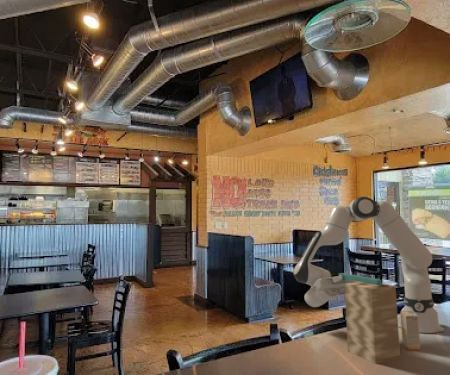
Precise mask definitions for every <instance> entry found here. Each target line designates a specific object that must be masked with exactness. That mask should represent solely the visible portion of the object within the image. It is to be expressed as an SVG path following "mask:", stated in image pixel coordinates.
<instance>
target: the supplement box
mask: <svg viewBox="0 0 450 375" xmlns="http://www.w3.org/2000/svg"><path fill="white" fill-rule="evenodd" d="M399 315H400V322H401V327H400V328H401V341H402V345H404V346H405V348H406V349H407V350H411V351H421V340H420V339H421V338H420V332H419V323H418V316H417V315H416V314H415V313H413V312H412V311H402V310H401V311H400V314H399Z"/></svg>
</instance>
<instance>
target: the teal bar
mask: <svg viewBox="0 0 450 375" xmlns="http://www.w3.org/2000/svg"><path fill="white" fill-rule="evenodd" d="M339 275H344V279H343V280H345V281H350V282H351V281H358V282H363V283H369V284H374V285H379V286H380V287H381V286H382V284H383V283H382V281H383V280H382V279H378V278H372V277H367V276H361V275H356V274H355V275H354V274H351V273H344V272H339V273H338V276H339Z"/></svg>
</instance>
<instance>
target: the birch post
mask: <svg viewBox="0 0 450 375" xmlns="http://www.w3.org/2000/svg"><path fill="white" fill-rule="evenodd" d="M396 288H397V287H396V285H392V284H391V285H390V284H387V283H382V286H381V287H380V286H379V285H374V284H369V283H363V282H358V281H351V283H345V295H344V297H345V298H344V299H345V316H346V317H345V318H346V320H345V321H346V336H347V337H346V338H347V351H348V352H350V353H351V354H353V355H356V356H358V357H361V358H363V359H365V360H367V361H369V362H372V363H373V364H379V363H385V362H388V361H392V360H398V359H401V353H400V352H401V351H400V338H399V337H400V336H399V335H400V334H399V327H398V324H399V323H398V322H399V321H398V304H397V290H396Z"/></svg>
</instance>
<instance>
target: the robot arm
mask: <svg viewBox="0 0 450 375" xmlns="http://www.w3.org/2000/svg"><path fill="white" fill-rule="evenodd" d="M368 219H370V220H373V221H374V222H375V223H376V224H377V226H378V227H379V229H380V230H381V232H382V233H383V234H384V236H385V237H386V238H387V240H388V241H389V242H390V244H392V245H393V248H395V249H396V251H397V252H398V253H399V255H400V265H401V269H402V276H403V281H404V282H403V283H404V285H403V286H404V297H403V298H404V299H403V301H404V307H403V308H402V309H401V311H412V312H413V313H415V314H416V315H417V316H418V323H419V333H422V334H432V333H433V334H435V333H440V332H445V328H444V327H442V326H441V325H440V322H439V315H438V314H439V313H438V311H436V309H435V308H434V298H433V296H432V285H431V279H430V276H429V272H428V267H430V266H431V265H432V262H433V255H432V253H431V251H430V250H429V249H428V247H427V246H426V245H425V244H424V243H423V242H422V241H421V239H420V238H419V237H418V236H417V235H416V233H415V232H414V231H412V229H411V228H410V226H409V225H408V224H407V222H406V221H405V220H404V218H403V217H402V216H401V215H400V214H399V211H397V210H396V209H395V207H394V206H393V205H391V204H390V203H389V202H388V201H386V200H378V201H376V200H374V199H372V198H370V197H368V196H359V197H357V198H355V199H353V200H352V201H351V202H350V203H348V205H346V206H344V205H335V206H333V207H332V209H331V210H330V213H329V214H328V216H327V218H326V221H325V222H324V223H325V224H324V226H323V228H322V229H321V230H320V231H316V232H315V233H314V234H313V235H312V238H311V239H310V241H309V242H308V245H307V246H306V248H305V250H304V251H303V253H302V255H301V257H300V259H299V260H298V262H297V263H296V265H295V266H294V268H293V272H292V273H293V276H294V278H295V280H296V281H297V282H299V283H301V284H306V285H309V286H311V287H310V288H309V290H308V291H307V292H306V293H304V301H305V303H306V304H307V305H308V306H310V307H312V308H317V307H320V306H323V305H324V304H326V303H327V302H328V301H330V300H332V299H334V298H336V297H338V296H341V295H344V294H345V283H351V282H350V281H345V280H343V279H344V275H339V274H338V275H337V276H333V275H332V273H331V272H330V270H328V269H324V268H323V267H320V266H317V265H314V264H312V263H311V262H312V260H313V259H314V257H315V254H316V252H317V251H318V250H319V248H320V247H322V246H337V245H339V244H342V242H344V241H345V239H346V237H347V234H348V230H349V227H350V225H351V223H352V222H353V223H361V222H363V221H366V220H368ZM398 328H401V321H400V322H399V323H398Z"/></svg>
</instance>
